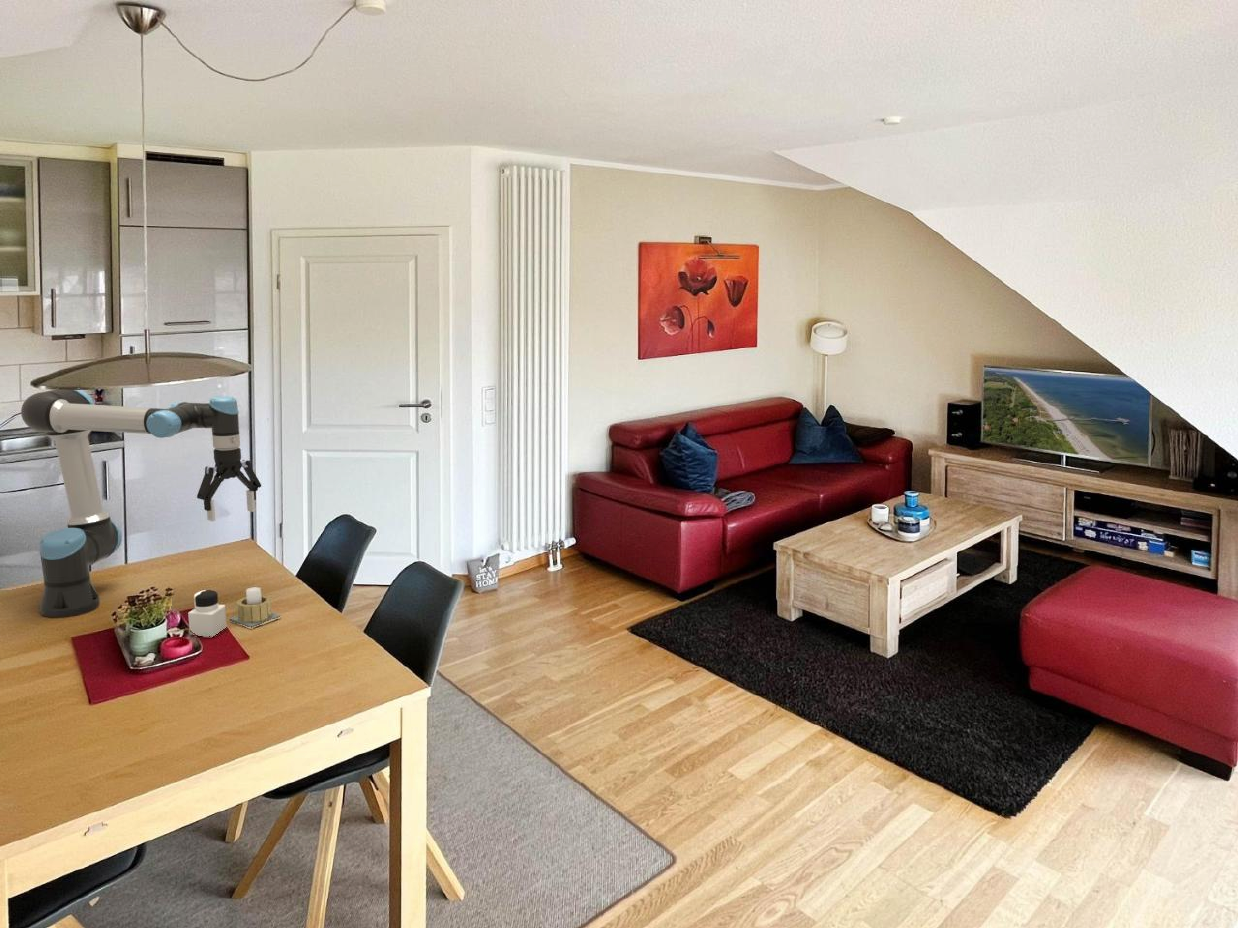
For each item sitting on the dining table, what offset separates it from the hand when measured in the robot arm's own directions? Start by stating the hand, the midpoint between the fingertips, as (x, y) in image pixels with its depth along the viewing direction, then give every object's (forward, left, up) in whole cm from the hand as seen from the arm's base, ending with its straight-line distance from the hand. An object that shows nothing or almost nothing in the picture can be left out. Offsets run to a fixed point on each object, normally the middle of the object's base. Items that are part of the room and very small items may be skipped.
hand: (231, 515), depth 269 cm
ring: (+20, -8, -26) cm, 33 cm away
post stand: (+20, -8, -27) cm, 34 cm away
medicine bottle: (+17, -21, -27) cm, 38 cm away
